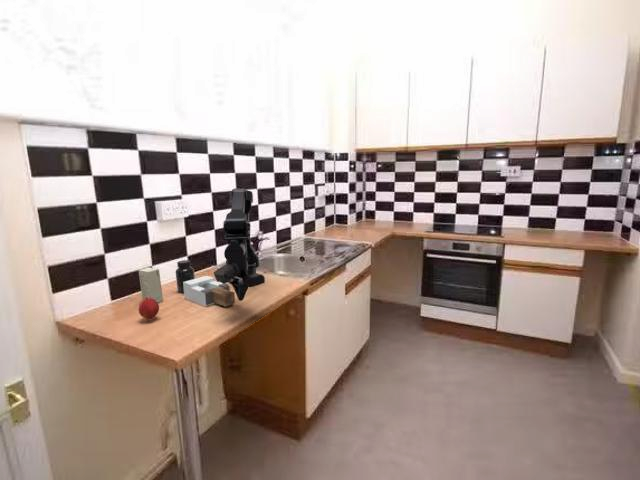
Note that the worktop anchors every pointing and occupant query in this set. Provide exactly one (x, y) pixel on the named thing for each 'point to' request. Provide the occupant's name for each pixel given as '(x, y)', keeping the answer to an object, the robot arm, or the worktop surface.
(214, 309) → the worktop surface
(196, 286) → the sleeve
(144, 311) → the onion
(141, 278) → the skincare box
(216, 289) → the peg
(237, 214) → the robot arm
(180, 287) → the supplement bottle
